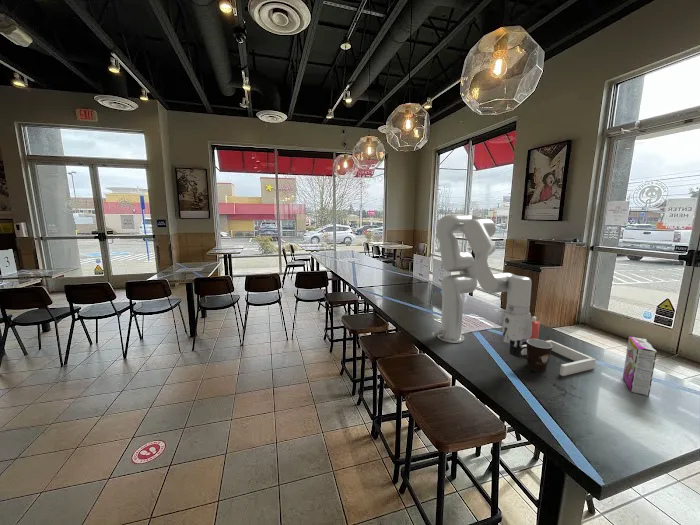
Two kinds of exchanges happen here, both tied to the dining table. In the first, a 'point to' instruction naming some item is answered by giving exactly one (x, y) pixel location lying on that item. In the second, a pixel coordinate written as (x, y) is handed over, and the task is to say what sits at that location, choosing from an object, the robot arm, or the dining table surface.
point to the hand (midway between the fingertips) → (514, 355)
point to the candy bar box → (639, 365)
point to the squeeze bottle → (534, 329)
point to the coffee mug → (537, 354)
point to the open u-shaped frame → (581, 359)
